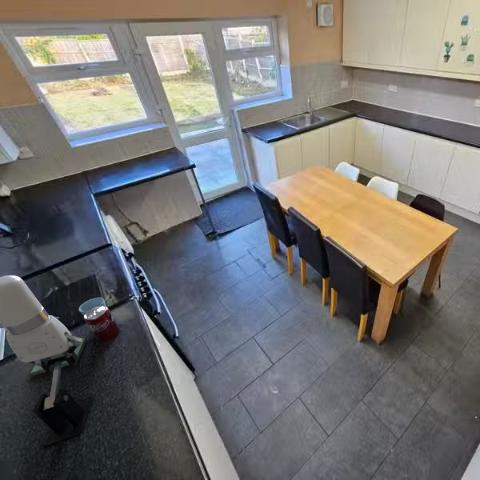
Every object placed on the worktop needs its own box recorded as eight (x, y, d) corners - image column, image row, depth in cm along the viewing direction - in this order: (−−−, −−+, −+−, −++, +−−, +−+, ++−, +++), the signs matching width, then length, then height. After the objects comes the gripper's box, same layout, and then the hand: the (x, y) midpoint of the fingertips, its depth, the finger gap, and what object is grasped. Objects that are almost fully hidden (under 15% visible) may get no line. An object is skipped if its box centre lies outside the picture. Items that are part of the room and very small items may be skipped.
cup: (86, 330, 104) (73, 310, 99) (102, 316, 111) (91, 296, 105) (103, 332, 103) (91, 312, 98) (119, 317, 110) (108, 298, 104)
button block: (34, 377, 88) (26, 369, 86) (47, 353, 96) (41, 345, 94) (78, 364, 91) (72, 356, 89) (87, 341, 99) (82, 334, 97)
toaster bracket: (61, 411, 78) (38, 387, 72) (94, 400, 80) (74, 376, 74) (45, 448, 70) (18, 425, 64) (82, 435, 72) (59, 411, 66)
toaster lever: (52, 361, 76) (46, 359, 74) (71, 356, 78) (66, 354, 76) (44, 412, 69) (37, 411, 68) (65, 405, 71) (59, 404, 69)
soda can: (107, 328, 105) (93, 305, 99) (125, 328, 104) (112, 305, 98) (93, 343, 99) (77, 320, 93) (112, 343, 98) (97, 320, 92)
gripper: (-27, 343, 62) (19, 389, 72) (62, 320, 68) (95, 366, 77) (-8, 320, 68) (33, 366, 78) (73, 301, 74) (102, 346, 83)
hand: (63, 365), depth 77 cm, fingers closed on toaster lever, 4 cm apart
